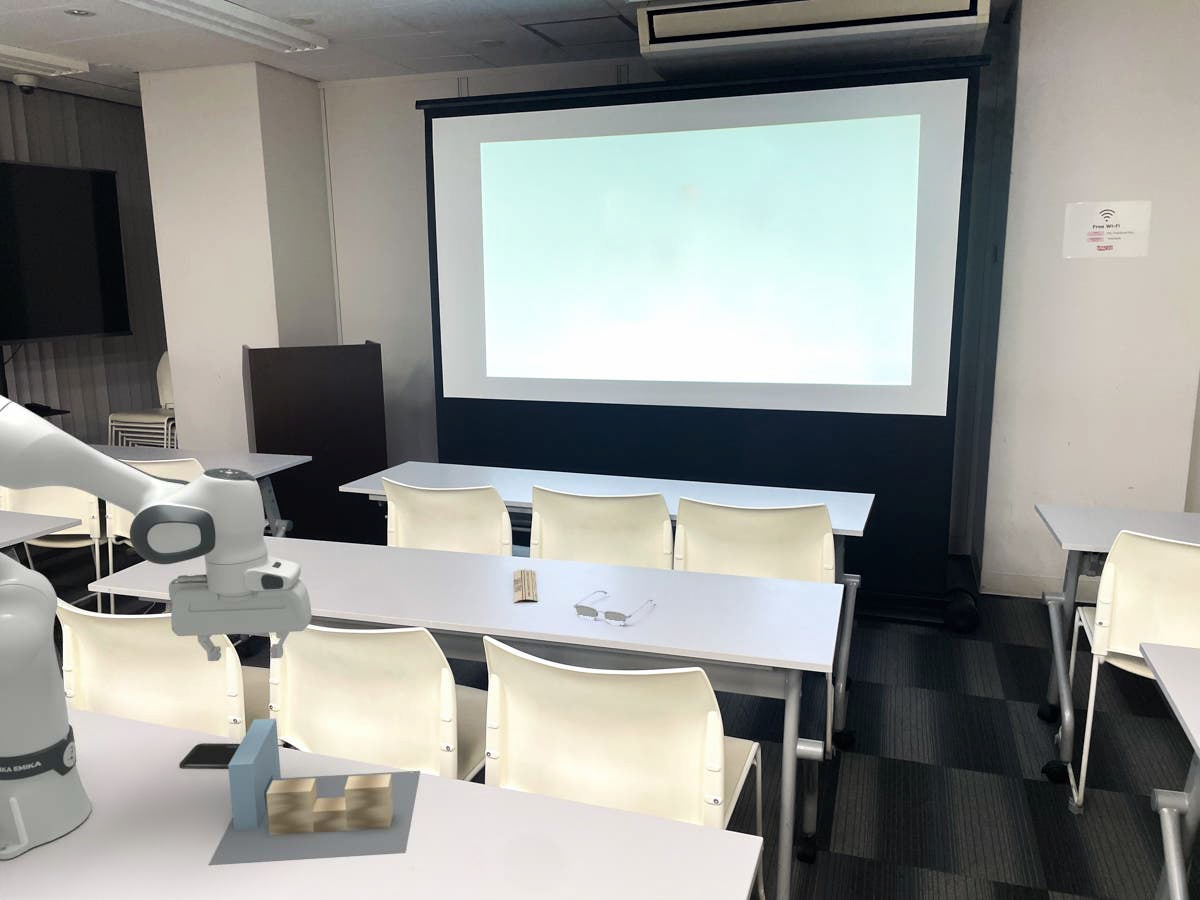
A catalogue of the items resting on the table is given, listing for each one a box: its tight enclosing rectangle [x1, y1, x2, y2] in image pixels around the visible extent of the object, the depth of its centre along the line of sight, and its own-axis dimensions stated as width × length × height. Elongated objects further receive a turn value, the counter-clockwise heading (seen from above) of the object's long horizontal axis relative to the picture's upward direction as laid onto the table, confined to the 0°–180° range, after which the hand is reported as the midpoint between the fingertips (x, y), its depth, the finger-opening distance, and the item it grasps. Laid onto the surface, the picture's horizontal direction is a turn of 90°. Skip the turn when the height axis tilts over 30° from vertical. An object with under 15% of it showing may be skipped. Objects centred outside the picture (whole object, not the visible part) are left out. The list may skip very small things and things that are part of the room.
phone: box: [178, 742, 241, 770], centre depth 157 cm, size 8×1×15 cm
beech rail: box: [266, 774, 393, 835], centre depth 137 cm, size 18×4×7 cm, turn 96°
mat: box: [208, 770, 421, 866], centre depth 140 cm, size 28×22×1 cm
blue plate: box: [228, 717, 282, 830], centre depth 142 cm, size 4×14×11 cm, turn 6°
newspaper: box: [513, 569, 538, 604], centre depth 242 cm, size 24×7×2 cm, turn 6°
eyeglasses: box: [573, 590, 654, 623], centre depth 225 cm, size 15×18×4 cm
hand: (246, 658), depth 138 cm, fingers open, 8 cm apart
